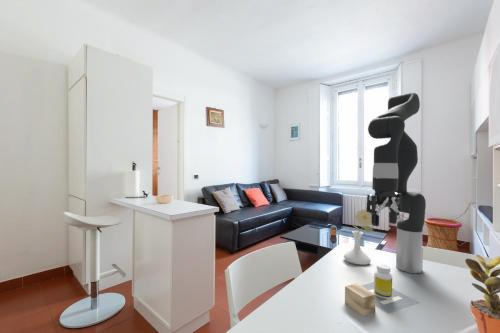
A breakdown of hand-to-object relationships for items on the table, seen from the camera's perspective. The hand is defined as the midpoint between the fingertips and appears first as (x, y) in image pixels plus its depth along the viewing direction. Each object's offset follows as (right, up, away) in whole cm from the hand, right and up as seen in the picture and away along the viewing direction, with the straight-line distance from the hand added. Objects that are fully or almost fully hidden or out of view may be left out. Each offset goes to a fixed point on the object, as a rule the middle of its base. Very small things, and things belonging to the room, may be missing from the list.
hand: (384, 224), depth 80 cm
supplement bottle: (0, -24, 0) cm, 24 cm away
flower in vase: (+5, -25, +29) cm, 38 cm away
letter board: (0, -25, 0) cm, 25 cm away
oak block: (-11, -25, -7) cm, 28 cm away
